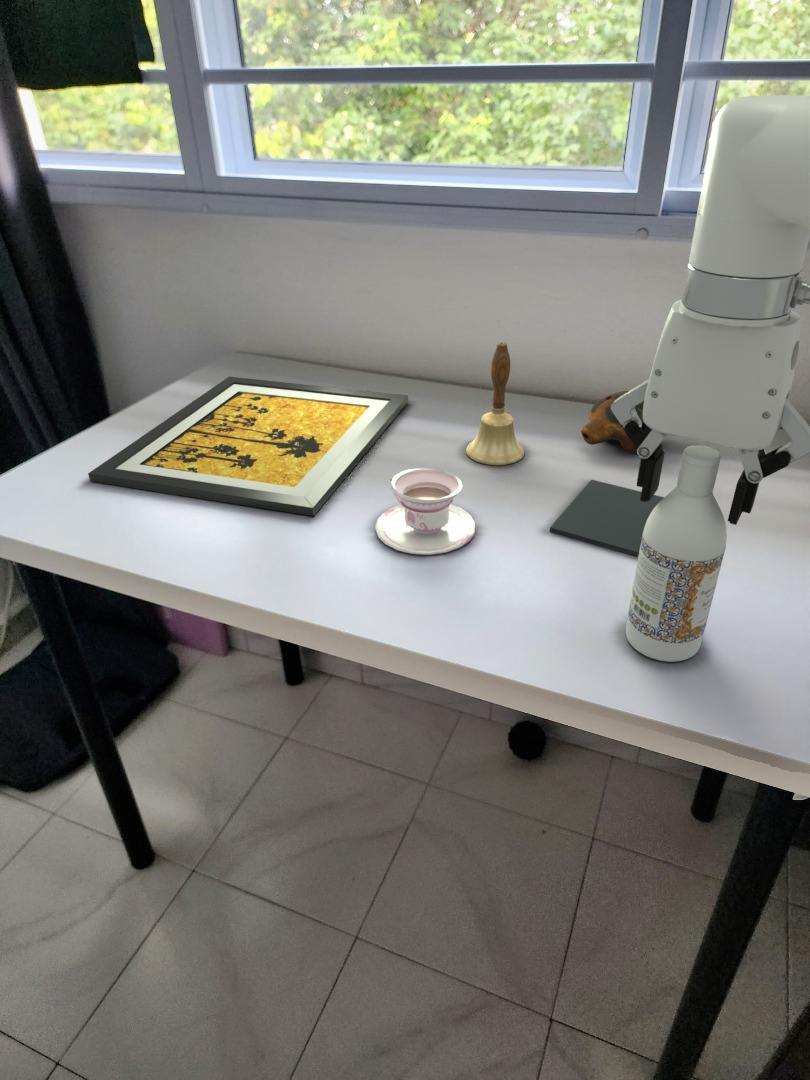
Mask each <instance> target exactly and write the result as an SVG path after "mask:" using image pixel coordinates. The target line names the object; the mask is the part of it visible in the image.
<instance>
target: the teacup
mask: <svg viewBox="0 0 810 1080" xmlns="http://www.w3.org/2000/svg"><path fill="white" fill-rule="evenodd" d="M390 482H391V483H390V484H391V491H392V493H393V496H394V498H395V499H396V501H397V502H398V504H396V505H394V506H392V507H390V508H389V509H386V510H385V511H383V512H382V514H380V516H379V517H378V518H377V519H376V523H375V527H374V528H375V529H374V530H375V531H376V535H377V537H378V539H379V540H380V541H381V542H383V543H384V544H385V546H388V547H390V548H392V549H394V550H396V551H399V552H403V553H407V554H411V555H424V556H425V555H428V556H429V555H430V556H431V555H437V554H444V553H448V552H451V551H454V550H457V549H460V548H461V547H463V546H464V545H466V544H467V543H469V542H470V541H471V540H472V538H473V537H474V535H475V533H476V522H475V520H474V518H473V516H472V515H471V514H470V513H468V512H467V510H465V509H464V508H461V507H460V506H457V505H454V504H453V501H454V499H455V498H456V497H457V496H458V494H459V493H460V492H461V491H462V490H463V482H462V480H461V479H460V478H459V477H458V476H457V475H455V474H454V473H452V472H449V471H446V470H444V469H440V468H439V469H438V468H433V467H431V468H430V467H416V468H408V469H404V470H401V471H400V472H398V473H396V474H395V475H394V476H393V478H390Z"/></svg>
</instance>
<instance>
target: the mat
mask: <svg viewBox="0 0 810 1080" xmlns="http://www.w3.org/2000/svg"><path fill="white" fill-rule="evenodd" d="M641 492H642V491H641V490H640V491H639V490H635V489H631V488H628V487H623V486H618V485H615V484H611V483H607V482H603V481H598V480H596V479H590V480H589V482H588V483H587V484H586V485H585V486H584V487H583V489H581V491H580V492H579V493H578V494H577V495H576V496H575V498H574V499H573V500H572V501H571V502H570V503H569V505H568V506H567V507H566V509H565V510H564V511H563V512H562V513H561V514H560V515H559V516H558V517H557V519H556V520H554V522H553V523H552V524H551V526H550V527H549V532H550V533H553V534H557V535H561V536H565V537H568V538H571V539H575V540H578V541H582V542H584V543H585V542H586V543H589V544H592V545H596V546H600V547H603V548H607V549H610V550H613V551H616V552H620V553H624V554H628V555H630V556H634V557H637V558H638V557H639V551H640V545H641V540H642V534H643V531H644V527H645V524H646V522H647V519H648V517H649V515H650V514H651V512H652V511H653V509H654V508H655V507H656V505H657V504H658V503H659V502H660V501H661V500H662V499H663V498H664V497H665V496H661V495H656V494H654V495H653V497H652V498H651V499H650V501H647V502H643V501H640V497H641Z"/></svg>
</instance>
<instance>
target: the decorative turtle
mask: <svg viewBox="0 0 810 1080" xmlns="http://www.w3.org/2000/svg"><path fill="white" fill-rule="evenodd" d="M629 391H630V390H623V391H618V392H614V393H610V394H609V395H607V396H605V397H602V398H601V399H599V400H598V401H597V402H595V403H594V405H593V406H591V408H590V410H589V415H588V420H589V421H588V423H586V424H585V425H583V426H582V427H581V429H580V434H581V436H582V438H583V440H584V441H585V443H587V444H588V445H596V444H597V445H599V444H601V443H604V442H608V441H611V440H617V441H618V442H619V443H620V445H621V447H622V448H623V450H624V452H626V453H628V454H629V453H630V454H632V453H633V452H635V451H637V448H636V447H635V445H634V444H633V443H632V441H631V440H630V439H629V437H628V436H627V434H626V433H625V431H624V427H623V425H621V424H620V422H619V421H618V419H617V418H616V416H615V415H614V413H613V412H612V410H611V404H612V403H613V402H614V401H615V400H616V399H617V398H619V397H620V396H622V395H624V394H625V393H627V392H629ZM643 405H644V401H643V402H642V403H640V404H638V405H636V406H635V410H636V412H637V415H638V416H639V417H641V418H642V419H643ZM649 428H650V427H649ZM650 430H651V431H652V429H651V428H650Z"/></svg>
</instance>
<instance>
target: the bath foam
mask: <svg viewBox="0 0 810 1080" xmlns="http://www.w3.org/2000/svg"><path fill="white" fill-rule="evenodd" d="M681 456H682V457H681V461H680V466H679V472H678V476H677V482H676V487H674V488H673V489H672V490H671V491H670V492H669V493H668V494H666V495H665V496H663V497H664V498H663V499H662V500H661V501H660V502H659V503H658V504H657V505H656V507H655V508H654V509H653V511H652V512H651V514H650V515H649V517H648V519H647V522H646V524H645V527H644V531H643V534H642V540H641V545H640V551H639V557H638V556H637V561H636V568H635V574H634V579H633V585H632V591H631V596H630V601H629V607H628V611H627V614H628V615H627V618H626V625H625V637H626V639H627V641H628V643H629V644H630V645H631V647H633V649H635V650H636V651H637V652H638V653H640V654H641V655H644V656H645V657H647V658H649V659H653V660H656V661H660V662H668V663H669V662H671V663H672V662H682V661H686V660H688V659H690V658H692V657H693V656H695V655H696V654H697V653H698V651H699V650H700V648H701V644H702V641H703V638H704V634H705V631H706V626H707V622H708V618H709V614H710V611H711V607H712V603H713V599H714V595H715V591H716V588H717V583H718V580H719V575H720V572H721V567H722V563H723V559H724V556H725V552H726V549H727V538H728V537H727V536H728V535H727V534H728V533H727V524H726V520H725V517H724V513H723V511H722V509H721V506H720V505H719V503H718V501H717V499H716V497H715V494H714V493H713V492H714V489H715V485H716V480H717V476H718V472H719V467H720V463H721V459H722V455H721V453H720V451H718V450H717V449H716V448H713V447H710V446H706V445H698V444H697V445H696V444H695V445H689V446H687V447H685V448H684V449H683V452H682V455H681Z"/></svg>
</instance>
